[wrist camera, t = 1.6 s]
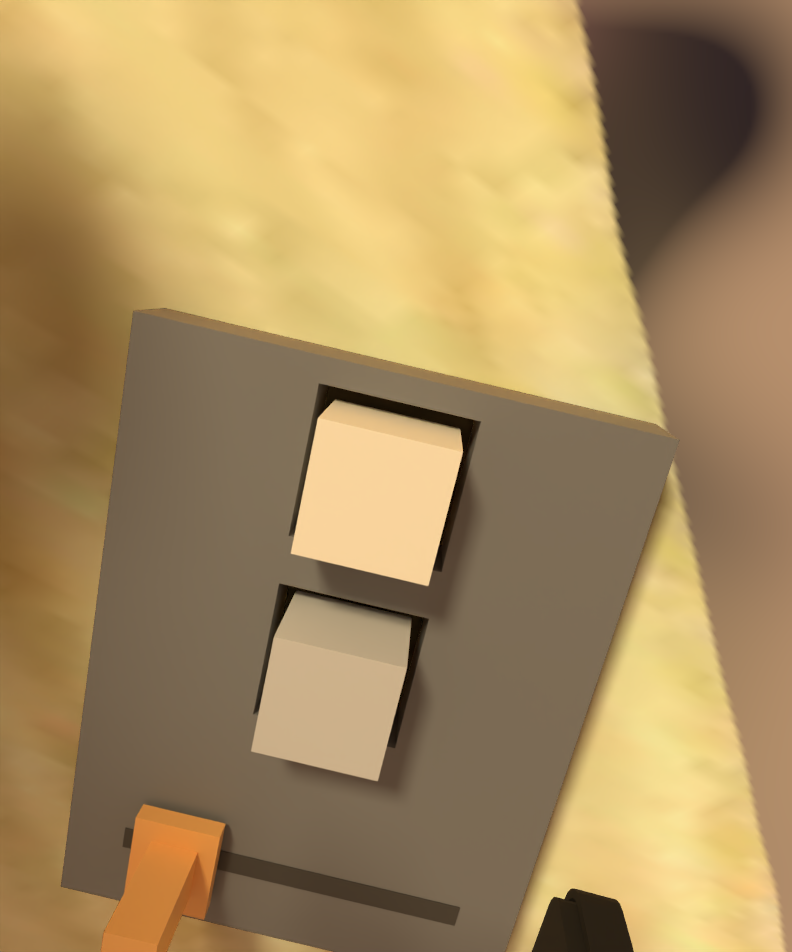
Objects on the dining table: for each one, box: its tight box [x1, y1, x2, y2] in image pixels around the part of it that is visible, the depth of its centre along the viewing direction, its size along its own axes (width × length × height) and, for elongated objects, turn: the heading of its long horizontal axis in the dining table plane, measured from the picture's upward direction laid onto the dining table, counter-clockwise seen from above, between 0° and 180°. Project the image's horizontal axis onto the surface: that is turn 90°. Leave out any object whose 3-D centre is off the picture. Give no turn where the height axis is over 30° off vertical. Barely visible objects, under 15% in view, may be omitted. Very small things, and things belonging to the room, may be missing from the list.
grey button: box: [251, 590, 412, 781], centre depth 28 cm, size 5×5×4 cm
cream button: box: [291, 399, 463, 586], centre depth 26 cm, size 5×5×4 cm
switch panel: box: [61, 308, 679, 952], centre depth 31 cm, size 26×20×3 cm
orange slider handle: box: [101, 804, 225, 952], centre depth 29 cm, size 4×4×5 cm
